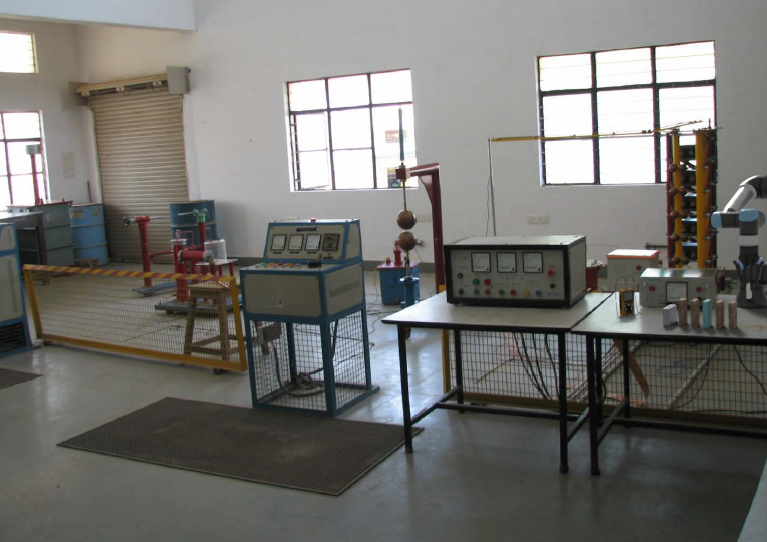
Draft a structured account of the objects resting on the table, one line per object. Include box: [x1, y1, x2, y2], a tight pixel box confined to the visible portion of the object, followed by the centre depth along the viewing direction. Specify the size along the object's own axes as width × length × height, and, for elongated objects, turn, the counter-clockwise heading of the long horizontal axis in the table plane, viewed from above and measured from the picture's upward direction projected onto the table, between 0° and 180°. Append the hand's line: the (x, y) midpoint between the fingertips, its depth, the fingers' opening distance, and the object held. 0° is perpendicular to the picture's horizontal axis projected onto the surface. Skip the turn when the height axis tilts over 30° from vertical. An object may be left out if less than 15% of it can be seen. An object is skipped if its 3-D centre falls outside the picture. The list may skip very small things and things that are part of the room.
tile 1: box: [727, 300, 738, 331], centre depth 351 cm, size 2×6×12 cm, turn 141°
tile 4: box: [689, 298, 701, 328], centre depth 362 cm, size 2×6×12 cm, turn 141°
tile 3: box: [702, 298, 713, 329], centre depth 358 cm, size 2×6×12 cm, turn 141°
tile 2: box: [714, 299, 725, 330], centre depth 355 cm, size 2×6×12 cm, turn 140°
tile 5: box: [677, 298, 689, 327], centre depth 366 cm, size 2×6×12 cm, turn 141°
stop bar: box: [662, 304, 678, 327], centre depth 370 cm, size 3×10×8 cm, turn 141°
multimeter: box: [614, 274, 641, 319], centre depth 389 cm, size 15×10×20 cm
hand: (749, 297), depth 346 cm, fingers closed
